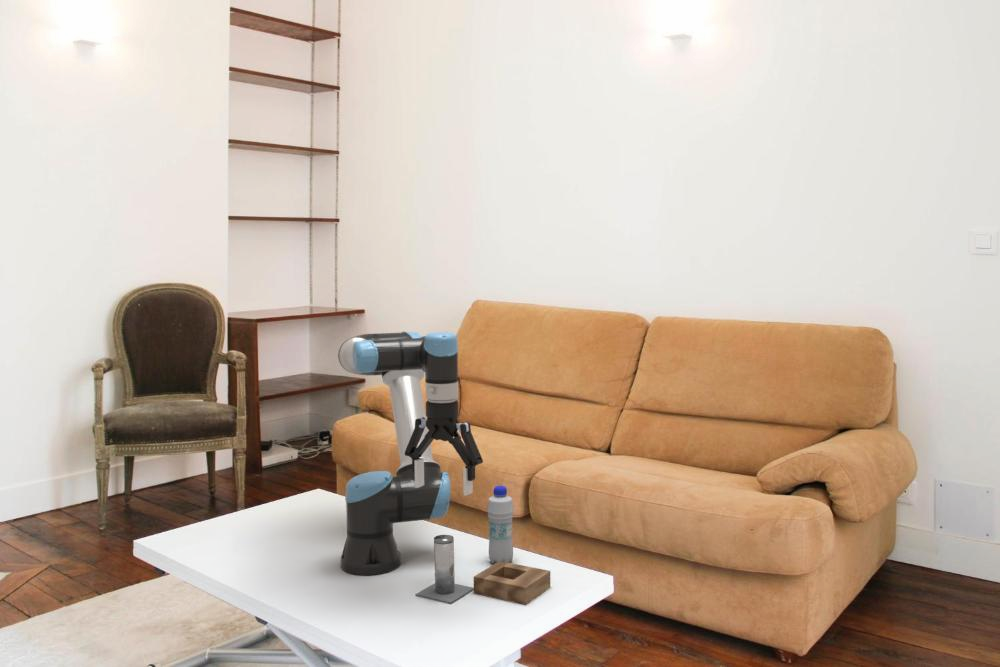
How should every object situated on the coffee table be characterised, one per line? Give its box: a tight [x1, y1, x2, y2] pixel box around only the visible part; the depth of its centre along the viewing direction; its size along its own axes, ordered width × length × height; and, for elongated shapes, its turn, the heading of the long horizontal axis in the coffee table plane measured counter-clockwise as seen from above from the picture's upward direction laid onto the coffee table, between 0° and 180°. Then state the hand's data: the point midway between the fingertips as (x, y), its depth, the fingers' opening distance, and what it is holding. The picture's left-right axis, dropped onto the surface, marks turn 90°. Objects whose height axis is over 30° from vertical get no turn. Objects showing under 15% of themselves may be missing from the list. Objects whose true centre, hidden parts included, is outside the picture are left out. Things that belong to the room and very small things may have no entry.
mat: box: [415, 582, 474, 605], centre depth 215 cm, size 10×10×1 cm
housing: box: [473, 561, 551, 606], centre depth 216 cm, size 14×12×4 cm
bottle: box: [486, 485, 514, 565], centre depth 234 cm, size 7×7×20 cm
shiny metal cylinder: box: [433, 534, 456, 595], centre depth 215 cm, size 5×5×13 cm
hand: (443, 490), depth 213 cm, fingers open, 13 cm apart
